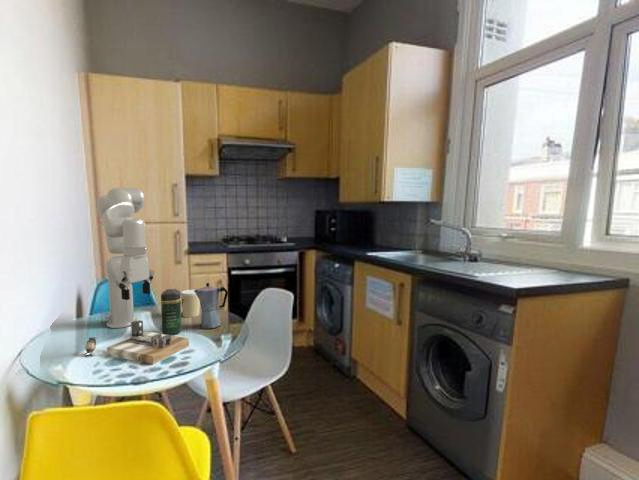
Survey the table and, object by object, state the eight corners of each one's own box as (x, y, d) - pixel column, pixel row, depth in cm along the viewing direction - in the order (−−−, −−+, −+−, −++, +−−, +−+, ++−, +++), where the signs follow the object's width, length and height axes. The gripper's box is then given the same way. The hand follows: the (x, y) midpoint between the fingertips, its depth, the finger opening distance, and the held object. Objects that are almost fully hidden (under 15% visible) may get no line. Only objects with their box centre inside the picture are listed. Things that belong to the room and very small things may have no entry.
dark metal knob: (127, 339, 139) (126, 322, 139) (136, 336, 143) (135, 319, 142) (153, 344, 135) (153, 326, 134) (161, 340, 138) (161, 323, 138)
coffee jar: (181, 334, 155) (180, 292, 153) (161, 336, 153) (159, 293, 151) (182, 327, 164) (180, 287, 163) (163, 329, 162) (161, 288, 160)
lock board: (107, 355, 134) (106, 338, 133) (146, 338, 151) (146, 323, 150) (153, 364, 126) (152, 346, 126) (188, 345, 143) (188, 330, 142)
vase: (86, 351, 138) (87, 335, 137) (101, 351, 138) (102, 336, 138) (78, 356, 132) (79, 340, 132) (94, 357, 133) (95, 341, 132)
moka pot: (197, 323, 171) (196, 281, 169) (230, 322, 172) (229, 280, 170) (191, 329, 161) (190, 285, 159) (227, 329, 163) (226, 285, 161)
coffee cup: (184, 312, 187) (183, 289, 186) (202, 312, 188) (202, 289, 187) (179, 318, 178) (178, 294, 177) (198, 317, 179) (198, 293, 178)
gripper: (145, 248, 146) (146, 290, 148) (106, 254, 130) (109, 301, 132) (159, 249, 144) (161, 292, 145) (122, 255, 128) (124, 303, 129)
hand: (136, 296), depth 139 cm, fingers open, 9 cm apart
